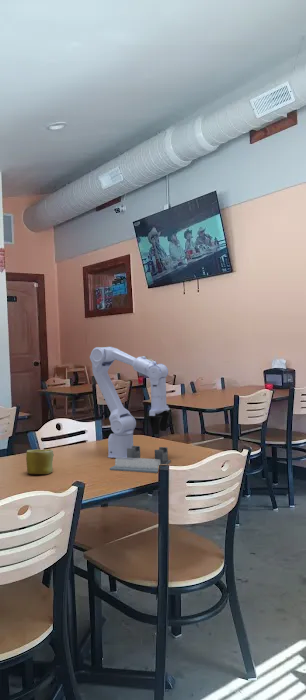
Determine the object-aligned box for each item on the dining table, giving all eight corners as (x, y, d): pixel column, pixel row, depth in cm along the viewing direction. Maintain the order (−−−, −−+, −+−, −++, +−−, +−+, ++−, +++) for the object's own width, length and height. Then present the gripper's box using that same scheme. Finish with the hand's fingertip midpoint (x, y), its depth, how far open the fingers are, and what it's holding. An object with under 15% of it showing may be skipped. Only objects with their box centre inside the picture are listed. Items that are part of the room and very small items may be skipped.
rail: (118, 465, 205) (115, 467, 202) (118, 457, 205) (115, 458, 202) (160, 467, 200) (157, 469, 197) (160, 459, 199) (157, 461, 197)
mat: (109, 469, 201) (109, 468, 201) (118, 465, 208) (118, 463, 208) (157, 473, 195) (157, 471, 195) (164, 468, 201) (164, 466, 201)
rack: (124, 463, 211) (124, 448, 210) (131, 459, 216) (130, 445, 216) (165, 465, 205) (164, 450, 205) (170, 462, 210) (170, 447, 210)
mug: (41, 473, 192) (38, 443, 195) (21, 479, 197) (18, 450, 200) (67, 472, 201) (63, 444, 204) (46, 478, 207) (43, 451, 210)
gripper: (161, 398, 206) (162, 436, 206) (175, 394, 219) (176, 429, 220) (143, 398, 208) (144, 435, 209) (158, 394, 222) (159, 428, 222)
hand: (159, 432), depth 214 cm, fingers open, 7 cm apart
